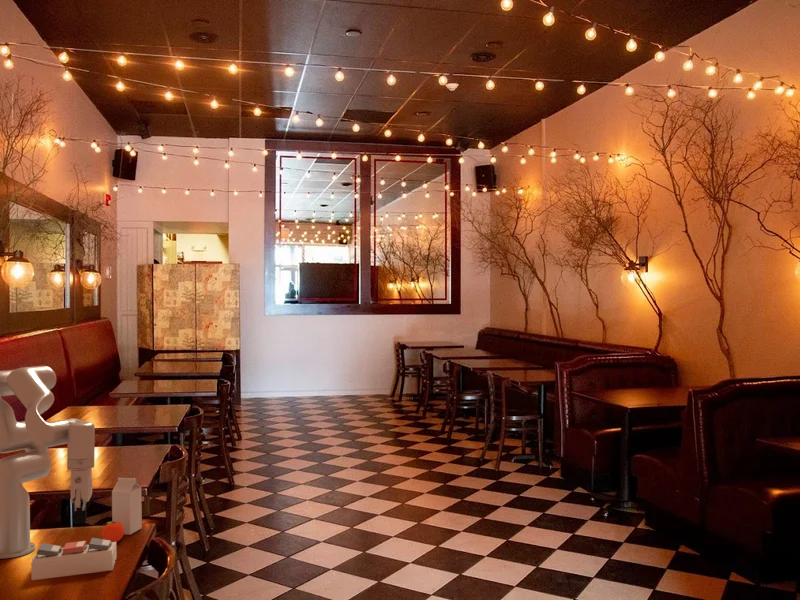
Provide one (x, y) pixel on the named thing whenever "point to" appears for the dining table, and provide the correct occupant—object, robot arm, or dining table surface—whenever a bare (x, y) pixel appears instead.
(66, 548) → the rocker mid
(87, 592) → the dining table surface
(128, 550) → the dining table surface
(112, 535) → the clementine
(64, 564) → the rocker switch panel
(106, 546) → the plate
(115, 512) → the milk carton
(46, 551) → the rocker
